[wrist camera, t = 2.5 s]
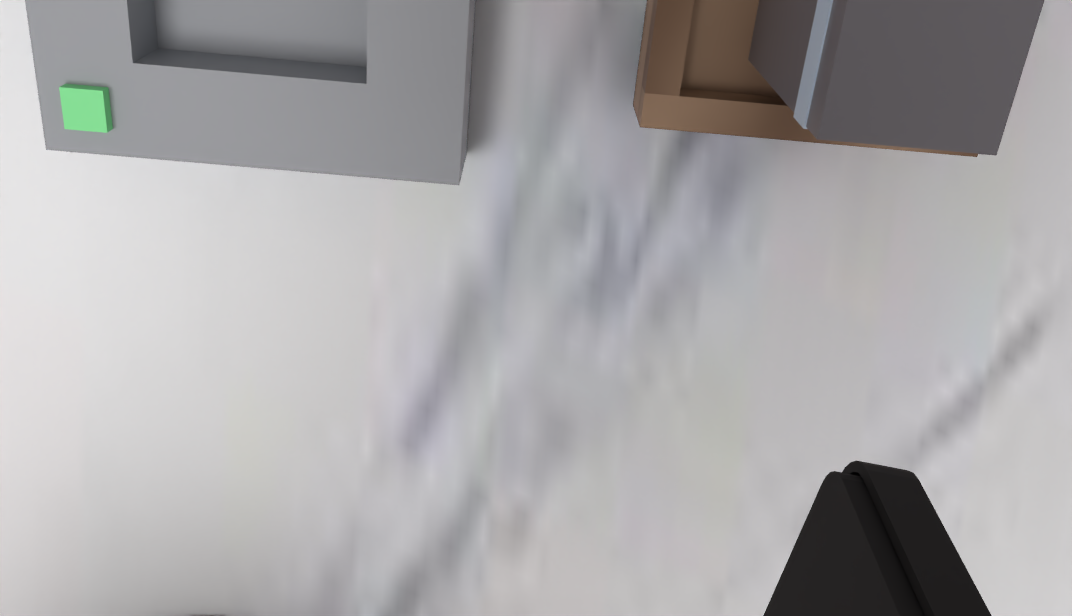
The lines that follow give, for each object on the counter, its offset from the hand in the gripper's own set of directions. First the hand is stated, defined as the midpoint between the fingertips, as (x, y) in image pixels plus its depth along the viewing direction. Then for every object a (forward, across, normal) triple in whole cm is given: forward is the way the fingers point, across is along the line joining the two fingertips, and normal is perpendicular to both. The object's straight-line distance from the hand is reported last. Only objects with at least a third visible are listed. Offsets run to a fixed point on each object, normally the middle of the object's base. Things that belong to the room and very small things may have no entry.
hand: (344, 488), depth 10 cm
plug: (+21, -10, -3) cm, 23 cm away
